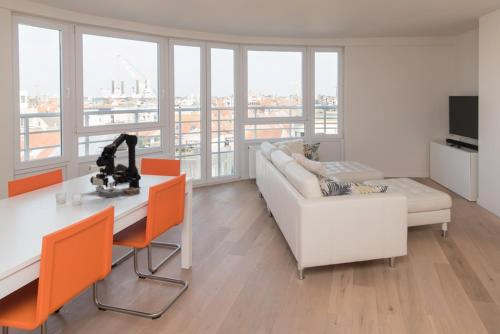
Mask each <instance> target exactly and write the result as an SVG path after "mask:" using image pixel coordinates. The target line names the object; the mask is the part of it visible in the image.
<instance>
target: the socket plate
mask: <svg viewBox="0 0 500 334" xmlns="http://www.w3.org/2000/svg"><path fill="white" fill-rule="evenodd" d="M97 192H98V195H99V196H102V197H105V198H107V199H109V198H115V197H122V196H126V195H125V194H124V191H123V190H121V189H119V188H117V187H113V191H110V188H106V189H105V188H104V190H98V191H97Z"/></svg>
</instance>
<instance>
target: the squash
mask: <svg viewBox="0 0 500 334" xmlns="http://www.w3.org/2000/svg"><path fill="white" fill-rule="evenodd" d="M127 168H128V167H127V166H126V165H124V164H122V163H118V164H117V165H116V166H115V172H116V171H123V172H124V173H125V176H121V177H120V179H119V181H118V183H122V182H127V183H129V180H128V179H127V176H126V169H127ZM112 175H113V174H112ZM111 178H112V179H113V181H114V182H115V178H114V176H111Z"/></svg>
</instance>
